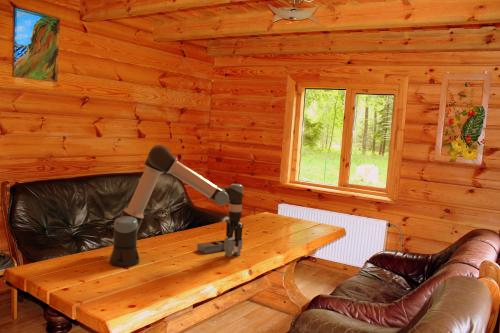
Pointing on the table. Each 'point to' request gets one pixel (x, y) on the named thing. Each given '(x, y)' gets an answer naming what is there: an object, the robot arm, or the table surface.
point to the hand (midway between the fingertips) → (232, 250)
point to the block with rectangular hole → (211, 247)
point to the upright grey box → (231, 246)
